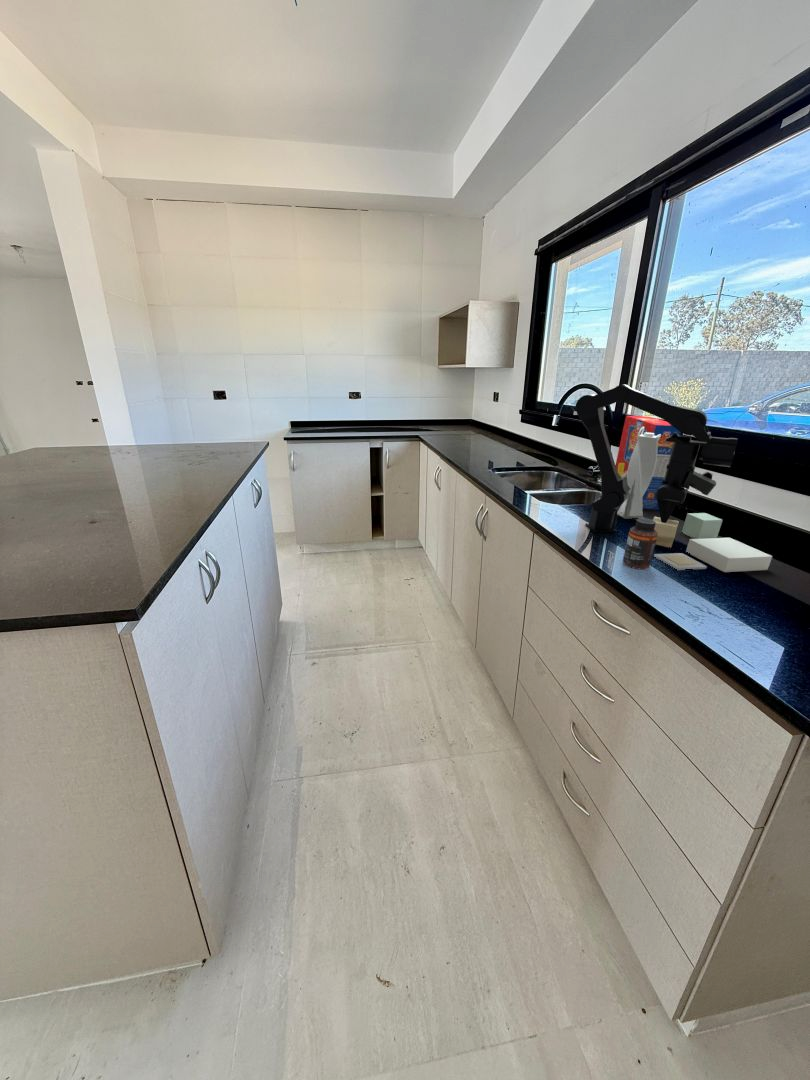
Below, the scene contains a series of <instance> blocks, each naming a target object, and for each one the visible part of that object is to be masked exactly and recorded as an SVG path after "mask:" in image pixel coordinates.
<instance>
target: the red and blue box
mask: <svg viewBox="0 0 810 1080" xmlns="http://www.w3.org/2000/svg"><path fill="white" fill-rule="evenodd" d="M643 426H644V431H643V435H644V433H654V436H657V435H659V434H661V437H660V439H659V440H658V450H657V461H656V466H655V470H654V473H653V476H652V479H651V481H650V484H649V486H648V488H647V490H646V492H645V493H644V495H643V497H642V507H643V510H652V509H653V510H654V511H655V510H656V511H659V508H658V503H657V500H656V494H657V490H658V488H659V487H661V486H662V485H663V484H662V482H663V479H664V477H665V473H666V470H667V469H666V467H667V464H668V462H669V459H670V455H671V451H672V448H673V444H674V442H667V441H666V439H667V438H668V437H670V436H671V435H673V434H674V433H675V432H677V433H678V435H680V436H681V434H682V432H680V431H679V430H677V429H676V428H674V427H673V426H671V425H670V424H669V423H668V422H666V421H665V420H663V419H660V418H655V417H651V416H639V415H626V416H625V419H624V424H623V428H622V433H621V437H620V438H621V439H620V444H619V447H618V451H617V456H616V460H615V461H616V462H615V466H616V469H617V472H618V474H619V475H620V476H621V478H622V477H625V476H627V471H628V466H629V462H630V459H631V456H632V453H633V451H634V448H635V446H636V444H637V441H638V438H637V435H638V433H639V430H640V429H641V428H642V427H643ZM642 429H643V428H642ZM641 432H642V430H641ZM641 432H640V435H641ZM653 510H652V511H653Z"/></svg>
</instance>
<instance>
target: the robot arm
mask: <svg viewBox="0 0 810 1080" xmlns="http://www.w3.org/2000/svg"><path fill="white" fill-rule="evenodd" d="M618 402H622V403H624V404H626V405H629V406H631V407H635V408H636V409H639V410H641V411H643V412H645V413H648V414H651V415H652V416H655V417H657V418H658V419H661V420H662V421H666V422H668V423H669V424H670V425H671V426H673V427H674V428H676V429H677V430H679V431H680V432H681V434H682V435H681V434H680V435H678V433H677V432H675V433H674V434H673V435H671V436H670V437H668V438H667V439H666V441H667V442H674V444H673V448H672V451H671V455H670V459H669V462H668V464H667V467H666V469H667V470H666V473H665V477H664V479H663V482H662V484H663V485H662V486H661V487H659V488H658V490H657V494H656V500H657V503H658V508H659V510H658V512H659V518H661V522H662V523H666V522H667V520H668V519H670V517H671V515H672V513H673V511H674V509H675V508H676V506H679V505H682V504H683V503H684V502H685V499H686V496H687V493H688V492H689V489H690V488H693V489H695V490H696V491H699V492H701V494H702V495H705V496H709V494H710V493H711V492H712V490H713V489H714V488H715V487H716V486H717V481H716V480H714V479H713V476H714V475H713V473H711V472H709V471H706V472H703V473H700V472H697V471H695V469H696V466H695V465H696V461H697V457H698V454H699V450H700V446H702V449H701V453H700V456H699V457H698V458H699V460H701V461H702V462H703V463H702V464H703V465H711V466H718V467H726V468H731V466H732V464H733V460H734V457H735V453H736V452H735V451H736V448H737V444H738V438H736V437H728V438H727V437H717V436H712V434H711V433H712V432H711V431H709V429H708V427H707V423H708V416H707V414H706V413H705V412H704V411H703V410H700V409H696V408H692V407H687V406H681V405H675V404H671V403H669V402H667V401H664V400H662V399H660V398H657V397H654V396H652V395H650V394H647V393H645V392H642V391H640V390H638V389H635V388H632V387H631V386H629V385H628V384H620V385H617V386H615V387H614V388H611V389H608V390H605V391H602V392H601V393H597V394H595V393H594V394H593V393H591V394H585V395H582V396H580V397H579V398H578V399H577V401H576V402H575V412H576V414H577V416H578V418H579V420H580V422H582V424H583V426H584V427H585V428H586V430H587V433H588V437H589V439H590V442H591V446H592V451H593V453H594V456H595V459H596V463H597V467H598V470H599V474H600V477H601V480H600V481H601V483H600V485H601V486H600V487H601V488H600V491H601V495H600V496H599V497H597V499H595V501H593V502H592V503H591V504H592V507H591V511H590V515H589V517H590V518H589V520H588V523H587V522H586V523H585V526H586V527H587V528H589V529H590V530H592V531H593V532H596V533H617V531H618V530H617V529H616V526H617V525H616V524H617V519H618V516H619V515H618V514H617V511H619V509H617V508H620V507H621V505H622V504H623V503H624V501H625V500H626V499H627V497H628V495H629V490H630V487H629V486H628V483H627V476H625V477H622V478H621V476H620V475H619V474H618V472H617V469H616V466H615V465H616V462H615V460H614V456H613V453H612V449H611V445H610V442H609V437H608V435H607V432H606V428H605V425H604V424H605V421H604V419H605V418H604V417H605V411H604V409H605V407H607V406H610V405H612V404H616V403H618ZM683 434H684V435H683ZM692 436H693V437H694V438H695V439H697V440H692Z"/></svg>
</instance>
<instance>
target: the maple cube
mask: <svg viewBox="0 0 810 1080" xmlns="http://www.w3.org/2000/svg"><path fill="white" fill-rule="evenodd" d="M652 520H653V521H655V522H656V524H655V528H654V529H655V530H656V531H657V534H658V536H657V540H656V544H655V546H661V547H665V548H669V547H670V548H669V549H671V548H672V546H673V543H674V541H675V536H676V535H677V534H676V533H677V529H678V526H679V523H680V521H679V520H673V519H670V518H669V519H668V520H667V522H666V523H662V522H661V518H660V516H659V517H657V516H654V517H653V518H652Z"/></svg>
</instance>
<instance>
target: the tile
mask: <svg viewBox="0 0 810 1080" xmlns="http://www.w3.org/2000/svg"><path fill="white" fill-rule="evenodd" d="M655 557H656V558H655ZM653 558H655V559H657V560H659V561H660V560H661V561H660V562H662V561H663V562H662V563H664V564H665V563H666V565H667V564H668V566H669V565H670V566H671V568H672V567H673V568H672V569H674V568H675V569H677V570H676V571H686V570H685V569H693V570H706V569H707V568H708V565H705V564H704V563H702V562H699V561H697V560H696V559H694V558H692V557H690V556H688V555H687V554H684V553H682V552H681V553H680V552H679V553H678V552H674V553H655V554H654V553H653ZM670 566H669V567H670ZM675 569H674V570H675Z"/></svg>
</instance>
